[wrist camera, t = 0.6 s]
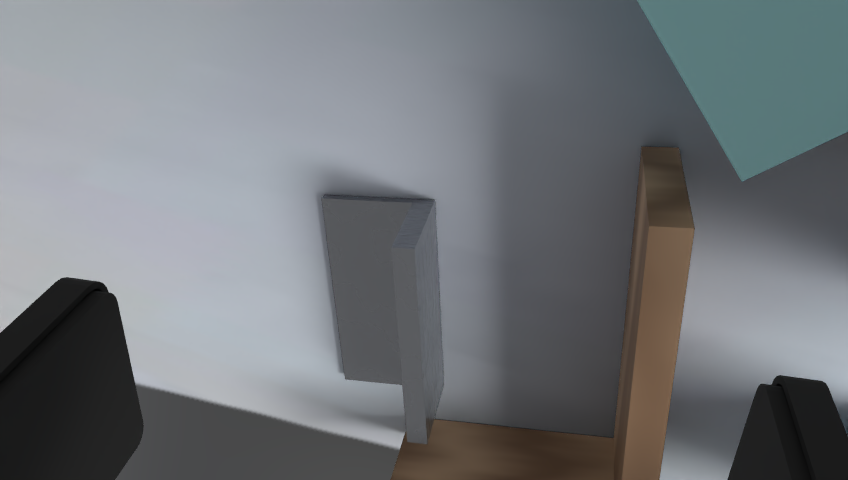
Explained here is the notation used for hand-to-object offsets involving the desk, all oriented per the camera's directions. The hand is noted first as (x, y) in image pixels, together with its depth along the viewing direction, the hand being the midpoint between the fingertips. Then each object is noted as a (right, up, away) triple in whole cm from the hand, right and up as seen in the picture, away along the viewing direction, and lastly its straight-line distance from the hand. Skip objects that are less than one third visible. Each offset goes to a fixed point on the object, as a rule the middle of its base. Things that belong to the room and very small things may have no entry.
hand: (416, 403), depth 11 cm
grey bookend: (-2, 0, +28) cm, 28 cm away
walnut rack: (+5, -1, +27) cm, 27 cm away
